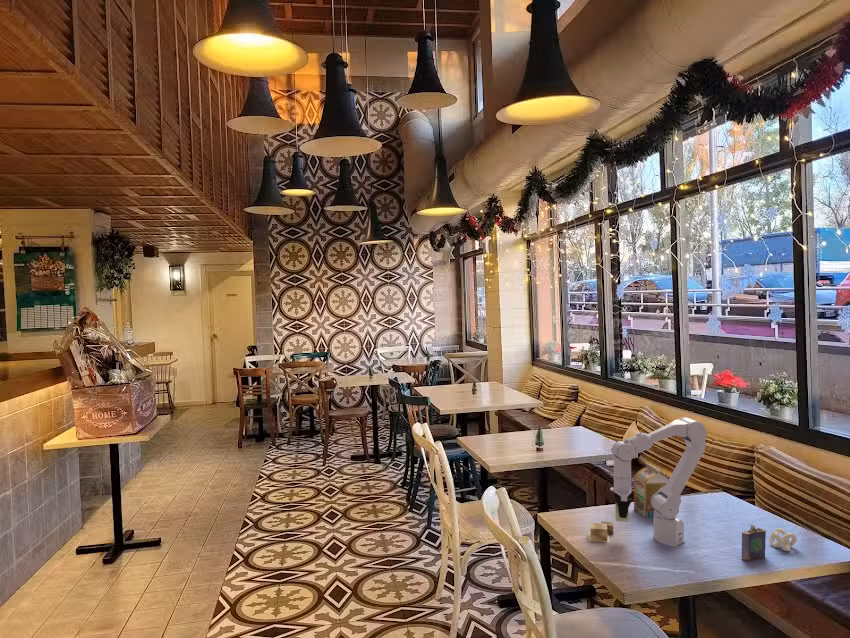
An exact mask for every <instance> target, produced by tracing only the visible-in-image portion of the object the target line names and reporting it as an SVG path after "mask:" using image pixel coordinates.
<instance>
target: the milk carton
mask: <svg viewBox="0 0 850 638" xmlns="http://www.w3.org/2000/svg"><path fill="white" fill-rule="evenodd" d="M668 480H669V478H668V477H666V476H665V475H663V474H662V473H660V469H659V468H657V467H656V466H654V465H652V464H650V463H648V462H646V466H645V467H643V468H641V469H640V470H638V471H637V472H635V473H634V475H633V510H634V512H636V513H637V514H639V515H640V517H644V518H645V519H649V518H650V519H651V518H653V519H654V508H653V507H652V505H651V498H652V496H653V495H654V494H656V493H657V492H658V491H659V489H660V488H661V487H663V486H665V485H666V484H667V482H668Z"/></svg>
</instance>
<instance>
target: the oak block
mask: <svg viewBox="0 0 850 638" xmlns="http://www.w3.org/2000/svg"><path fill="white" fill-rule="evenodd" d="M589 525H590V532H589V533H590V535H591V540H600V541H607V524H601V522H600V523H598V522H590V523H589ZM600 541H599V542H600Z"/></svg>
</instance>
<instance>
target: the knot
mask: <svg viewBox="0 0 850 638" xmlns="http://www.w3.org/2000/svg"><path fill="white" fill-rule="evenodd" d="M780 534H782V536H781V535H780ZM790 538H791V539H790ZM768 539H769V544H770V546H772V548H779V547H780V548H781V549H782V550H783V551H784V552H790V550H791V547H792V546H794V545H795V544H796V543H797V541H798V538H797V535H796V534H794V533H791V532H789V533H788V532H787V531H786V530H785V529H783V528H779V527H778V528H774V530H773V531H772V532H771V534H770V535H769V538H768ZM775 540H776V542H775Z"/></svg>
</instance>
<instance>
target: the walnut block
mask: <svg viewBox="0 0 850 638" xmlns="http://www.w3.org/2000/svg"><path fill="white" fill-rule="evenodd" d="M600 524H607V534H608V535H614V524H613V521H605V520H604V521H603V520H601V521H600Z"/></svg>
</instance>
